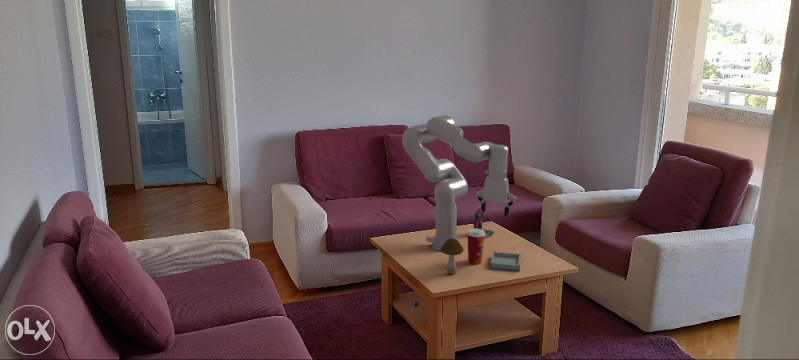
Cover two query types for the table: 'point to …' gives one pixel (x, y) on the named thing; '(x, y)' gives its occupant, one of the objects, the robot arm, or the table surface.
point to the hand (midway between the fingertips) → (494, 213)
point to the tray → (505, 261)
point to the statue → (479, 223)
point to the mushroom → (451, 253)
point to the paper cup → (475, 245)
